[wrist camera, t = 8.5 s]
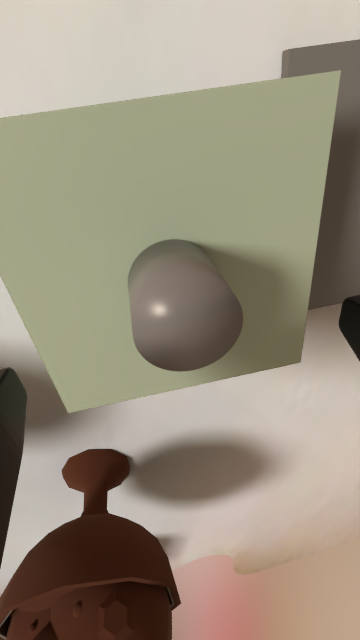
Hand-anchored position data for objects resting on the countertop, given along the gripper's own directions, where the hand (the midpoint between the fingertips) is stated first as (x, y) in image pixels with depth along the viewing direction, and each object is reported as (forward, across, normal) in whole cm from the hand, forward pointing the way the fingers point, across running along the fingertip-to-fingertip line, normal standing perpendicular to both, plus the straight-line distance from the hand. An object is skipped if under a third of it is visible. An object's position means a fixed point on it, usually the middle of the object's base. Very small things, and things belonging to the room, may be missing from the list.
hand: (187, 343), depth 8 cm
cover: (+4, 0, 0) cm, 4 cm away
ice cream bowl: (+10, +8, +19) cm, 23 cm away
